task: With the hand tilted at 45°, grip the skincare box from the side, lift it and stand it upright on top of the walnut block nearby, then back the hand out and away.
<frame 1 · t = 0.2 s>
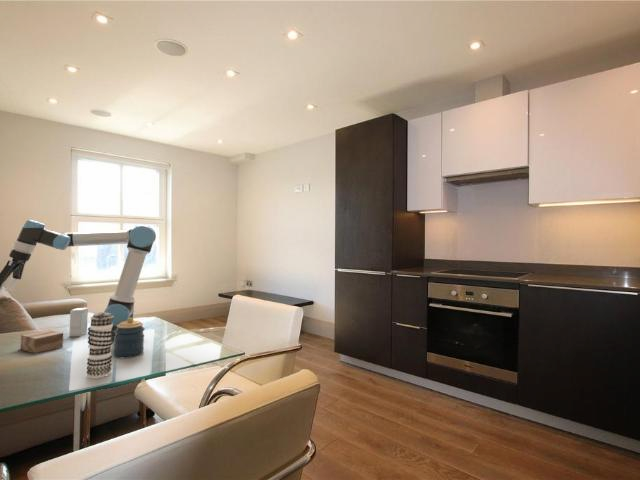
hand: (2, 293, 161), 28 cm above the table, tool tilted 20°, fingers open, 13 cm apart
canister: (128, 354, 165), on the table
skincare box: (78, 335, 193), on the table
walnut block: (41, 348, 168), on the table
decorative candle: (98, 374, 139), on the table
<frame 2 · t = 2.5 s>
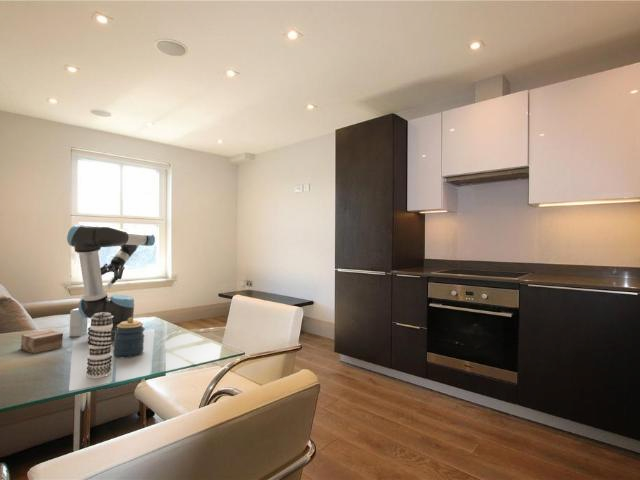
hand: (98, 286, 204), 27 cm above the table, tool tilted 45°, fingers open, 13 cm apart
nothing on the table moved.
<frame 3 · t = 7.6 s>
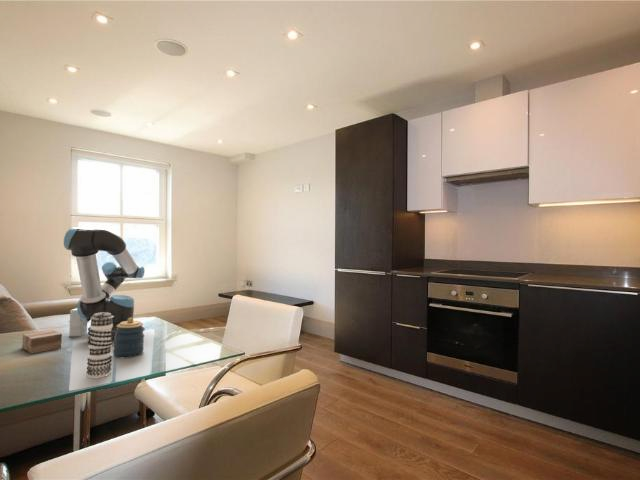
hand: (76, 324, 192), 6 cm above the table, tool tilted 45°, fingers closed on skincare box, 9 cm apart
skincare box: (77, 335, 193), on the table, touching gripper
when the fingers open (15 cm above the table, at t = 16.7 s): skincare box drops 2 cm, resting on walnut block.
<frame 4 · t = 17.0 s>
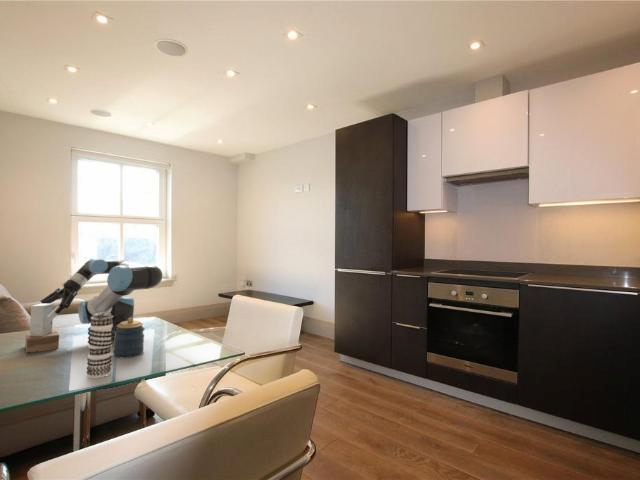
hand: (41, 316, 168), 15 cm above the table, tool tilted 45°, fingers open, 12 cm apart
skincare box: (40, 334, 168), point 6 cm above the table, touching walnut block
walnut block: (41, 348, 168), on the table, touching skincare box
everything else where it was.
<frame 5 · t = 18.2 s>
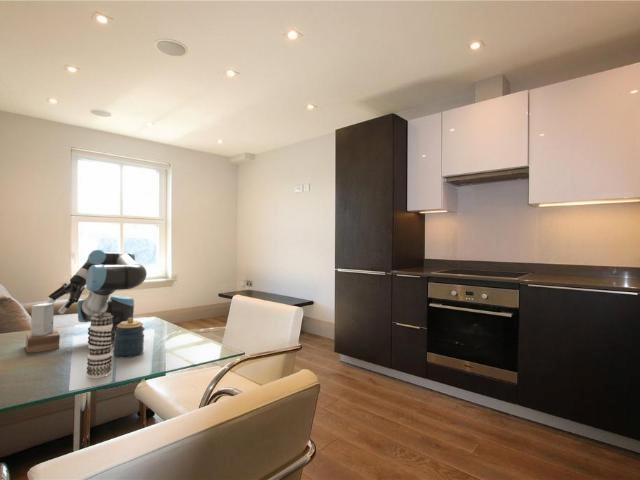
hand: (51, 311, 172), 17 cm above the table, tool tilted 40°, fingers open, 13 cm apart
nothing on the table moved.
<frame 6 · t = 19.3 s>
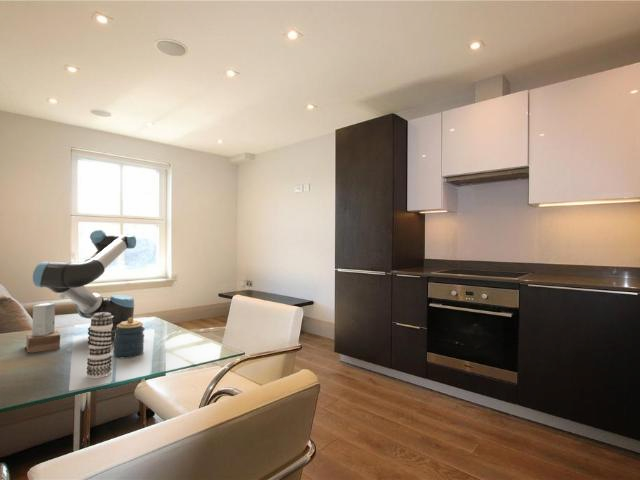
hand: (60, 297, 177), 24 cm above the table, tool tilted 45°, fingers closed
skincare box: (43, 334, 169), point 7 cm above the table
walnut block: (42, 348, 169), on the table
everything else where it was.
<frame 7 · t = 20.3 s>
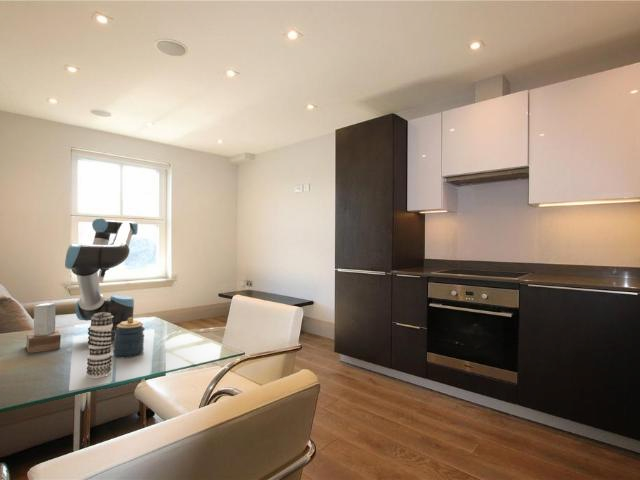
hand: (91, 282, 193), 30 cm above the table, tool pointing down, fingers open, 13 cm apart
skincare box: (44, 334, 169), point 7 cm above the table, touching walnut block
walnut block: (43, 348, 169), on the table, touching skincare box
everything else where it was.
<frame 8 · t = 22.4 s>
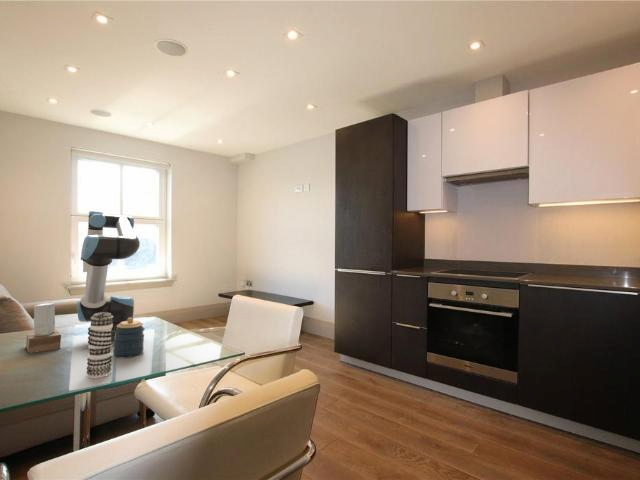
hand: (93, 272, 202), 35 cm above the table, tool pointing down, fingers open, 13 cm apart
nothing on the table moved.
at the end: skincare box inside the target area on the walnut block (0.3 cm from its centre), point 6.9 cm above the walnut block's base; skincare box tilted 2°; the gripper is holding nothing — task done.
